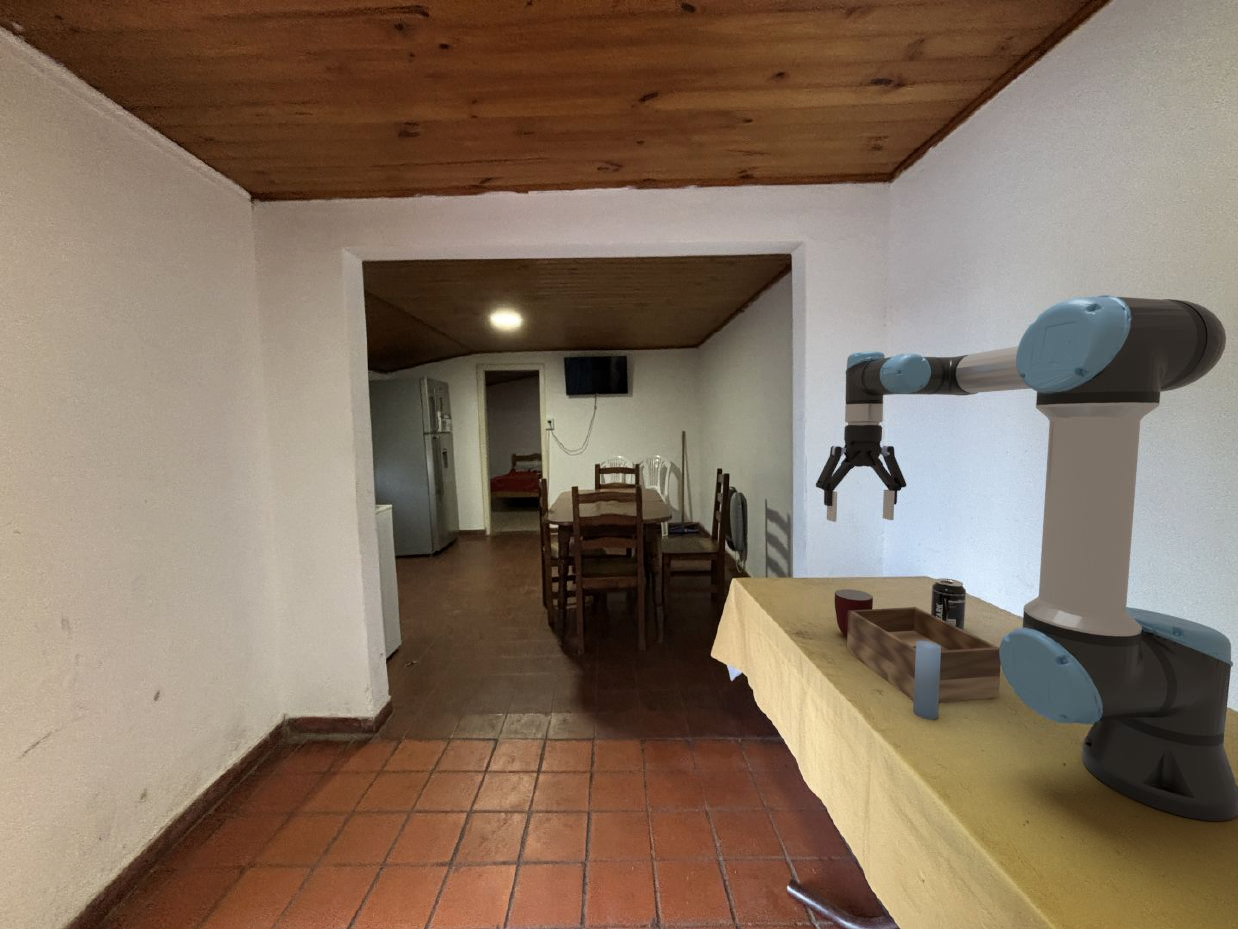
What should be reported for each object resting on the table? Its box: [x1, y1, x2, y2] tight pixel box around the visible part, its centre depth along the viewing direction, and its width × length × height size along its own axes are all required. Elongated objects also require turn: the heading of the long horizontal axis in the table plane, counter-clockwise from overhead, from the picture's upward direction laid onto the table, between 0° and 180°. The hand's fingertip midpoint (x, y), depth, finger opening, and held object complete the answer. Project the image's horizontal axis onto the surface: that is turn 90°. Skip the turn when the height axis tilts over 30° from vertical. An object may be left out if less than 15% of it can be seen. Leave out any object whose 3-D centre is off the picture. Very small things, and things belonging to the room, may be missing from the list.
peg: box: [913, 641, 941, 721], centre depth 89 cm, size 4×4×12 cm
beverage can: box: [930, 578, 967, 631], centre depth 125 cm, size 7×7×12 cm
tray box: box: [846, 606, 1002, 703], centre depth 104 cm, size 22×16×9 cm
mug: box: [833, 588, 874, 639], centre depth 121 cm, size 11×8×10 cm
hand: (859, 520), depth 117 cm, fingers open, 13 cm apart
